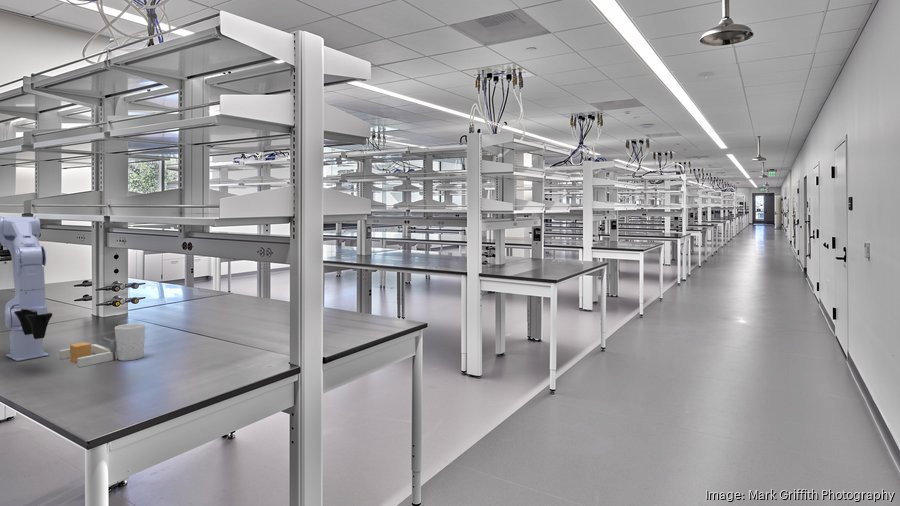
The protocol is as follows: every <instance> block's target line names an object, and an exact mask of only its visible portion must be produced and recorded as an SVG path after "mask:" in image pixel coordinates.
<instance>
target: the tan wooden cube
mask: <svg viewBox="0 0 900 506" xmlns="http://www.w3.org/2000/svg"><path fill="white" fill-rule="evenodd" d="M91 345H92V344H91V343H88V342H85V341H84V342H83V341H82V342H78V343H74V344H73V343H72V344H70V345H69V349H70V355H71V357H70V362H71V363H74V364H78V361H77V358H81V357H86V356H91V355H92V353H91Z"/></svg>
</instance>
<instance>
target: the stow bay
mask: <svg viewBox="0 0 900 506" xmlns="http://www.w3.org/2000/svg"><path fill="white" fill-rule="evenodd" d="M101 341H104V342H106V343H108V344H109V348H108V347H105V346H102V345H100V344H98V343H95V344H91V356H86V357H81V358H77V361H78V363H77V367H78V368H81V367H88V366H92V365H97V364H101V363H102V364H103V363H106V362H110V361H115V360H116V361H117V347H116V339H112V338H111V339H110V338H108V337H105V336H103V337H102V338H101ZM58 353H59V359H60V360H63V359H68V358H69V359H71V355H70V348H65V349H60V350H59V351H58Z"/></svg>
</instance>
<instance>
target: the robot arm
mask: <svg viewBox="0 0 900 506" xmlns="http://www.w3.org/2000/svg"><path fill="white" fill-rule="evenodd" d="M40 235H41V221H40V218H39V217H38V216H2V215H1V216H0V246H3V247H5V248H7V249H8V250H9V253H10V256H11V265H12V274H13V284H14V286H13V287H14V293H15V295H14V298H12V299H10V300H9V301H7V302H6V303H5V305H4V322H5V328H7V329H8V330H11V331H10V333H9V337H8V338H9V351H10V353H7V354H5V356H6V357H7V358H10V359H12V360H14V361H15V362H19V361H25V360H30V359H36V358H42V357H47V356H49V355H50V354H49V353H48V352H46V351H44V338H45V336H46V334H47V328H48V325H49V322H50V320H51V319H52V317H53V312H48V308H47V307H48V305H47V302H46V283H45V282H46V280H45V267H46V264H47V254H46V253H47V251H46V249H45V246H44V245H40Z"/></svg>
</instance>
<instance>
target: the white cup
mask: <svg viewBox="0 0 900 506" xmlns="http://www.w3.org/2000/svg"><path fill="white" fill-rule="evenodd" d="M145 329H146V325H145V323H135V322H134V323H124V324H120V325H117V326H116V325H115V327H114V335H115V337H114V338H115V343H116V352H117V359H118V360H119V361H124V362H127V361H135V360H139V359H142V358H143V357H144V356H145V354H144V353H145V352H144V350H145V349H144V348H145V339H146V337H145V332H146V330H145Z"/></svg>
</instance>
